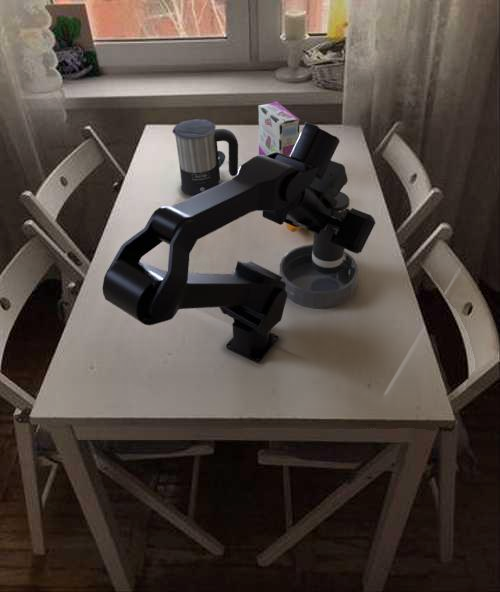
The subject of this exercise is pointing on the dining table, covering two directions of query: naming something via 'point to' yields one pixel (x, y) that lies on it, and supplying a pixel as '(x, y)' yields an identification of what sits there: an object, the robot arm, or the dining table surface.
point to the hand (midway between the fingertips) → (334, 228)
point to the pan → (317, 280)
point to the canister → (329, 244)
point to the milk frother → (203, 154)
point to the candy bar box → (277, 129)
